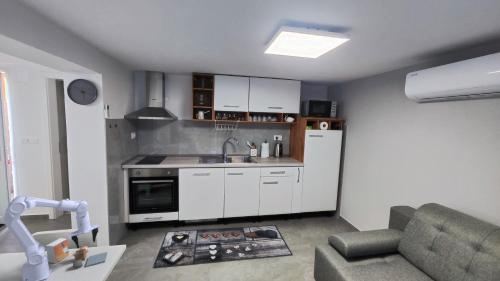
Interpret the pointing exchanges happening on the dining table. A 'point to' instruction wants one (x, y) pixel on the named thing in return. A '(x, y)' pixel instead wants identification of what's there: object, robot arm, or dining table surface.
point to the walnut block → (80, 254)
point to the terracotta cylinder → (84, 248)
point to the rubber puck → (77, 264)
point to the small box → (57, 250)
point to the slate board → (96, 259)
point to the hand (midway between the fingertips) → (86, 244)
